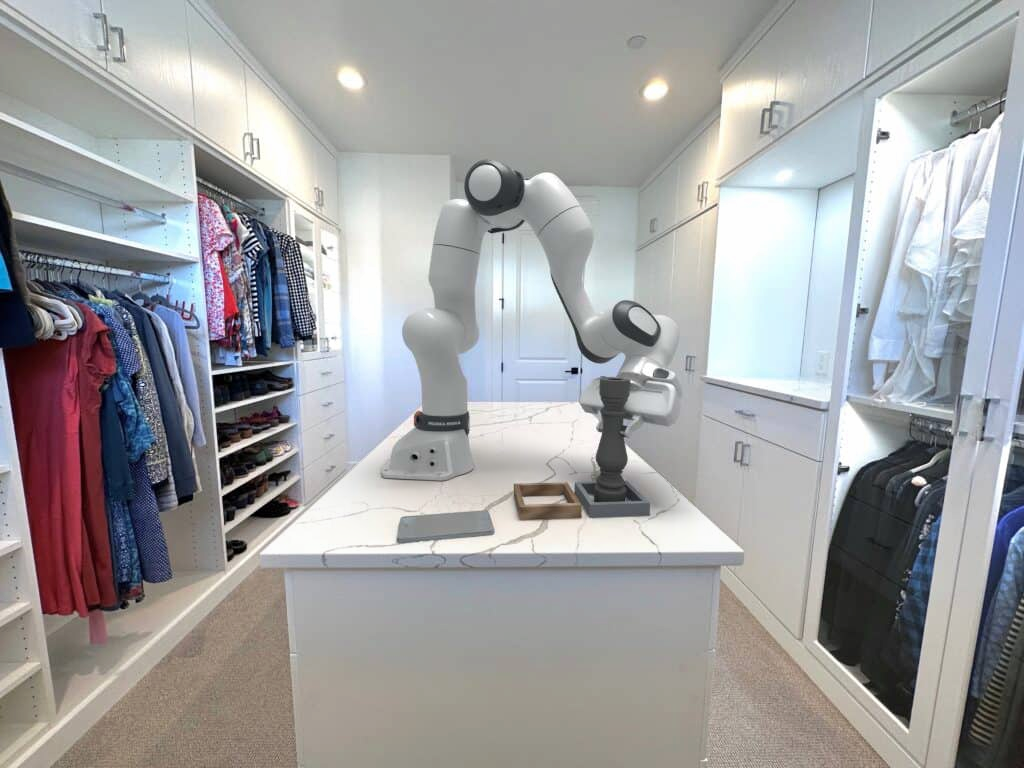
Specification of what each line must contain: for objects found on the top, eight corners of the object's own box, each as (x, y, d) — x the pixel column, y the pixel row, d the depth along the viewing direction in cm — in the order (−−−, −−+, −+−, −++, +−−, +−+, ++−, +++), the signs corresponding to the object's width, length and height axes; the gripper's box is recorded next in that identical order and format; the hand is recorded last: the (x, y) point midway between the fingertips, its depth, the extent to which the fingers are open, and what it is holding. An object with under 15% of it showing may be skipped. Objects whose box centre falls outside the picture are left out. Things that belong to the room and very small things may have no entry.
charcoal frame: (589, 517, 73) (590, 504, 72) (574, 493, 84) (574, 481, 84) (649, 515, 74) (650, 502, 74) (626, 491, 85) (626, 480, 85)
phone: (495, 538, 66) (495, 530, 66) (396, 547, 63) (395, 539, 63) (488, 516, 74) (488, 509, 74) (400, 523, 71) (400, 516, 71)
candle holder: (626, 512, 75) (633, 381, 72) (593, 508, 77) (598, 380, 73) (624, 499, 81) (630, 378, 78) (593, 496, 83) (598, 377, 79)
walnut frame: (519, 520, 72) (519, 507, 71) (513, 495, 83) (513, 483, 82) (581, 518, 73) (581, 505, 72) (566, 493, 84) (567, 482, 84)
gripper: (590, 366, 88) (562, 415, 82) (683, 373, 74) (657, 433, 68) (600, 384, 92) (574, 433, 86) (691, 394, 78) (667, 453, 72)
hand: (612, 433), depth 77 cm, fingers closed on candle holder, 4 cm apart
